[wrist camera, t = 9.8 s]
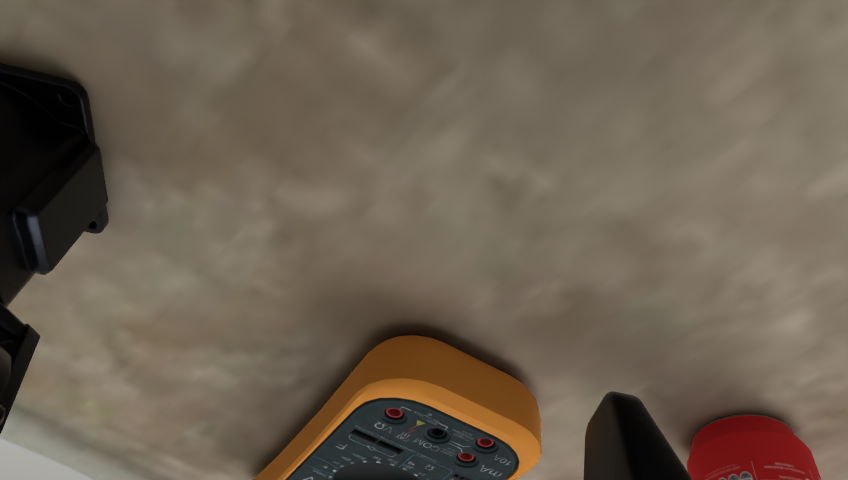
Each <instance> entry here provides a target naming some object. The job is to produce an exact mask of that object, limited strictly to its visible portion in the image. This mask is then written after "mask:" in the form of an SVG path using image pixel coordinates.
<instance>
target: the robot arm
mask: <svg viewBox="0 0 848 480" xmlns="http://www.w3.org/2000/svg"><path fill="white" fill-rule="evenodd" d="M66 92H67V93H69V94H71V95H72V96H73V98H74V100H73V99H71V98H70V97H69V96H68V95H67V93H66ZM107 201H108V197H107V191H106V185H105V179H104V172H103V166H102V160H101V154H100V149H99V147H98V145H97V144H96V141H95V135H94V129H93V122H92V116H91V110H90V104H89V98H88V95H87V92H86V90H85V89H84V88H83V87H82V86H81V85H80V84H79V83H77V82H75V81H72V80H69V79H65V78H60V77H56V76H52V75H48V74H43V73H39V72H35V71H30V70H26V69H22V68H17V67H13V66H9V65H5V64H0V433H1V431H2V429H3V427H4V424H5V422H6V419H7V417H8V415H9V412H10V410H11V407H12V405H13V402H14V400H15V397H16V395H17V392H18V390H19V388H20V385H21V383H22V380H23V378H24V375H25V373H26V370H27V368H28V365H29V363H30V361H31V358H32V356H33V353H34V351H35V348H36V346H37V343H38V341H39V339H40V335H39V334H38V333H37V332H36V331H35V330H34V329H33V328H32V327H31V326H30V325H29V324H23V323H22V322H21V321H20V320H19V319H18V318H17V317H16V316H15V315H14V314H13V313H12V312H11V311H10V310H8V309H7V308H6V307H7V306H8V305H9V304H10V303H11V301H12V300H13V299H14V298H15V297H16V295H17V294H18V293H19V292H20V291H21V289H22V288H23V287H24V286H25V285H26V283H27V282H28V281H29V280H30V279H31V277H32V276H33V275H34V274H35V273H38V274H42V275H45V274H47V273H49V272H50V271H52V270H53V269H54V268H55V266H56V265H57V264H58V263H59V261H60V260H61V259H62V258H63V256H64V255H65V254H66V253H67V251H68V250H69V249H70V248H71V247H72V245H73V244H74V243H75V242H76V240H77V239H78V238H79V237H80V235H81V234H82V233H83V232H84V231H85V232H90V233H100V232H102V231H103V229H104V228H105V227H106V225H107V224H108V214H107V208H106V203H107ZM93 220H94V221H93ZM584 480H692V478H691V477H690V475H689V474H688V472H687V470H686V469H685V467H684V466H683V464H682V463H681V461H680V460H679V458H678V457H677V455H676V454H675V452H674V451H673V449H672V448H671V446H670V445H669V443H668V441H667V440H666V438H665V437H664V435H663V434H662V432H661V431H660V429H659V428H658V426H657V425H656V423H655V422H654V420H653V419H652V417H651V416H650V414H649V412H648V411H647V409H646V408H645V406H644V405H643V403H642V402H641V401H640V400H639V399H638V398H637V397H636V396H633V395H628V394H623V393H618V392H609V393H607V394H606V395H605V397H604V398H603V400H602V401H601V403H600V405H599V406H598V408H597V410H596V411H595V413H594V415H593V416H592V418H591V420H590V421H589V423H588V426H587V430H586V435H585V459H584Z"/></svg>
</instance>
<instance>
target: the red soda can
mask: <svg viewBox="0 0 848 480" xmlns="http://www.w3.org/2000/svg"><path fill="white" fill-rule="evenodd" d="M687 470H688V474H689V475H690V477H691V478H692V480H821V477H820V475H819V472H818V469H817V466H816V464H815V461H814V458H813V456H812V453H811V451H810V450H809V448H808V447H807V446H806V445H805V444H804V443H803V442H802V441H801V440H800V439H799V438H798V437H797V436H796V435H795V434H794V433H793V431H792V429H791V428H790V427H789V426H788V425H787V424H786V423H784V422H782V421H781V420H778V419H776V418H773V417H770V416H765V415H758V414H739V415H732V416H727V417H723V418H720V419H717V420H714V421H712V422H710V423H708V424H706V425H705V426H703V427H702V428H701V429H699V430H698V431H697V432H696V434H695V435H694V437H693V439H692V450H691V453H690V456H689V459H688V462H687Z"/></svg>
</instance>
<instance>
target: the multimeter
mask: <svg viewBox="0 0 848 480" xmlns="http://www.w3.org/2000/svg"><path fill="white" fill-rule="evenodd" d="M540 455H541V419H540V415H539V410H538V406H537V402H536V399H535V398H534V396H533V395H532V394H531V393H530V391H529V390H528V389H527V388H526V387H525V386H524V385H523V384H522V383H521V382H519V381H518V380H516V379H515V378H513V377H512V376H510V375H508V374H506V373H504V372H502V371H500V370H498V369H496V368H494V367H492V366H490V365H488V364H486V363H484V362H482V361H480V360H478V359H476V358H474V357H472V356H470V355H468V354H466V353H464V352H462V351H460V350H458V349H456V348H454V347H452V346H450V345H448V344H446V343H444V342H441V341H438V340H435V339H433V338H430V337H424V336H416V335H408V336H397V337H394V338H391V339H388V340H385V341H384V342H382V343H381V344H379V345H378V346H376V347H375V348H374V349H372V350H371V351H369V352H368V353H367V355H366V356H365V357H364V358H363V359H362V361H361V362H360V363H359V364H358V365H357V367H356V368H355V369H354V370H353V371H352V373H351V374H350V375H349V376H348V377H347V379H346V380H345V381H344V382H343V383H342V384H341V386H340V387H339V388H338V389H337V390H336V392H335V393H334V394H333V395H332V396H331V398H330V399H329V400H328V401H327V402H326V404H325V405H324V406H323V407H322V408H321V410H320V411H319V412H318V413H317V414H316V415H315V416H314V417H313V418H312V419H311V420H310V422H309V423H308V424H307V425H306V426H305V427H304V428H303V429H302V430H301V431H300V432H299V433H298V435H297V436H296V437H295V438H294V439H293V440H292V441H291V442H290V443H289V444H288V445H287V446H286V448H285V449H284V450H283V451H282V452H281V453H280V454H279V455H278V456H277V457H276V458H275V459H274V460H273V461H272V462H271V463H270V464H269V465H268V466H267V467H266V468H265V469H263V470H262V471H261V472H260V473H259V474H258V475H257V476H256V477H255V478H254V479H253V480H515V479H517V478H519V477H520V476H522V475H523V474H525V473H527V472H528V471H529V470H531V469H532V468H533V467H534V466H535V465H536V464H537V463H538V460H539V458H540Z"/></svg>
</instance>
